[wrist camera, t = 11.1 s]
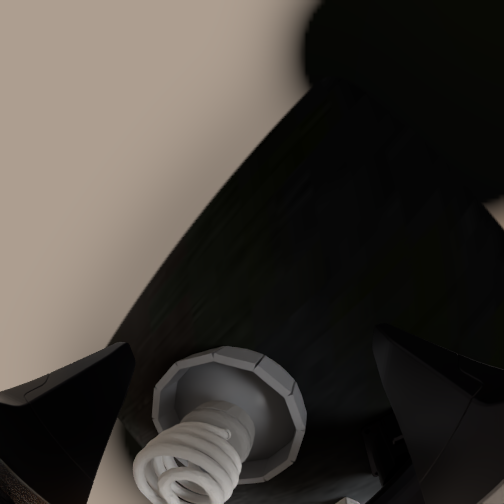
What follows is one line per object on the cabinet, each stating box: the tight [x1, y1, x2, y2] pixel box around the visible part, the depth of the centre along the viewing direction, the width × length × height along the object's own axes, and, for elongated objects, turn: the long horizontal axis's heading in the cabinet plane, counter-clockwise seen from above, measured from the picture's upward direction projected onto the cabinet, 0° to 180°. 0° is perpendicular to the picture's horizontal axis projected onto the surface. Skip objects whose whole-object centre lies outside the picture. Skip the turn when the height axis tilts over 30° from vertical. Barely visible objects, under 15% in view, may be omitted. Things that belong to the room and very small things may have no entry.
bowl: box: [152, 346, 307, 485], centre depth 19 cm, size 12×12×4 cm
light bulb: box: [133, 400, 255, 504], centre depth 14 cm, size 6×6×12 cm
